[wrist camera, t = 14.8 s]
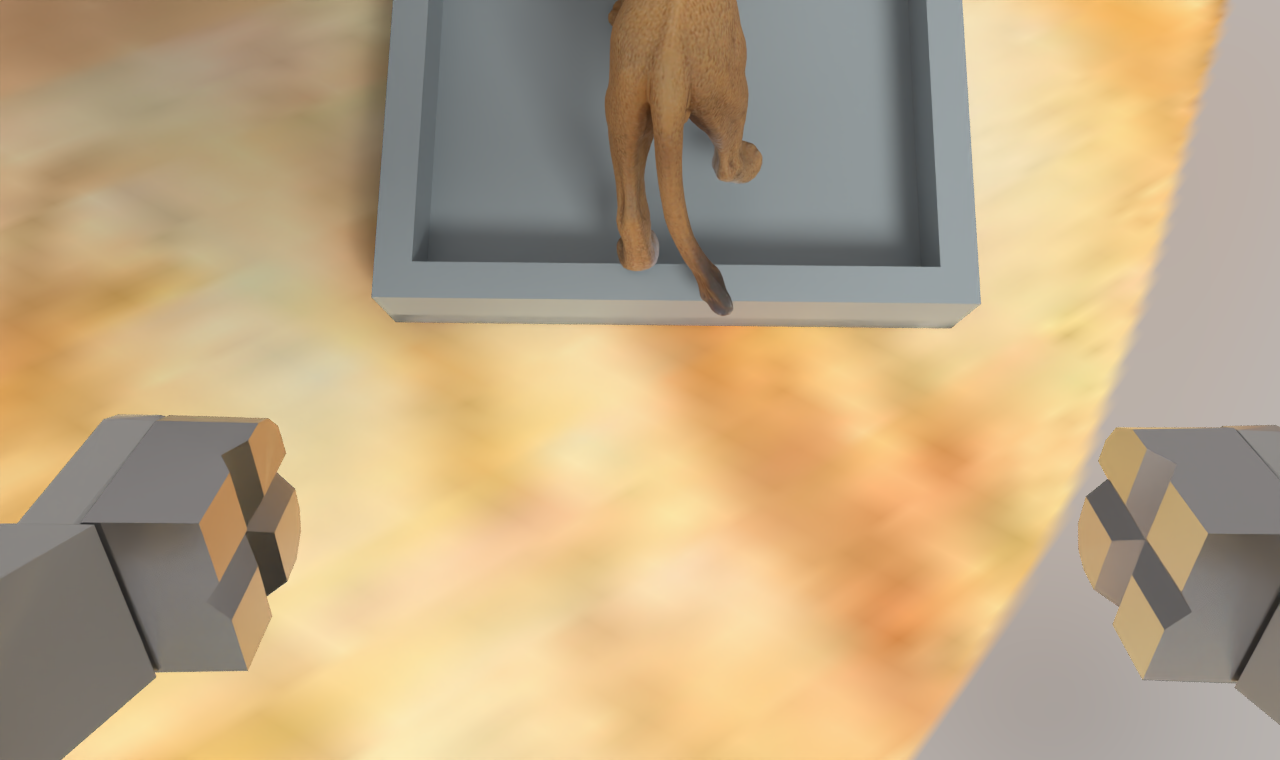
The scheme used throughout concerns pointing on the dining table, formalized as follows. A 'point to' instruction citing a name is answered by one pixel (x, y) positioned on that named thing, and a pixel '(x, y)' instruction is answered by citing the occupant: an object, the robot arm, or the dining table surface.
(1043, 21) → the dining table surface
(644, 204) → the lion figurine
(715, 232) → the grey tray
